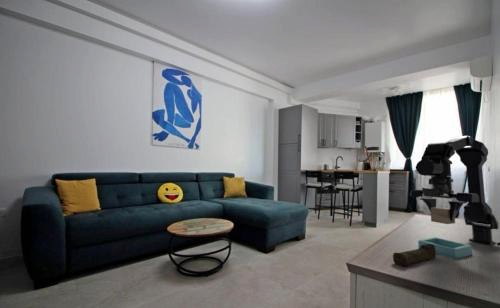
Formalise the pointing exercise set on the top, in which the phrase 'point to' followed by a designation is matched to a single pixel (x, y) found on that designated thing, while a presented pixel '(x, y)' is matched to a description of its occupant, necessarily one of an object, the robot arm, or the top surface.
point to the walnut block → (441, 215)
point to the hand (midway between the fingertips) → (442, 219)
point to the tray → (448, 247)
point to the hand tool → (415, 255)
